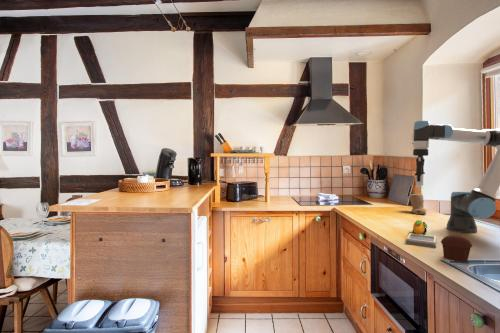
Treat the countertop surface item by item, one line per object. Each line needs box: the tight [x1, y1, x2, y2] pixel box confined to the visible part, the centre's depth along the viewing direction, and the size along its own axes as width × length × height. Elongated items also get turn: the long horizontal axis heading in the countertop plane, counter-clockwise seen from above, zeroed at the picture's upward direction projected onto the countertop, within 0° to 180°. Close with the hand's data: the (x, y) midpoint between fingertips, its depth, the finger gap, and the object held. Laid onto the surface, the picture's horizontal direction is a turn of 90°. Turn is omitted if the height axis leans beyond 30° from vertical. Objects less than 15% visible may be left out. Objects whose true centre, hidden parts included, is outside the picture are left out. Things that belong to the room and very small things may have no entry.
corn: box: [412, 219, 428, 235], centre depth 175 cm, size 7×8×20 cm
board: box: [405, 232, 437, 249], centre depth 161 cm, size 13×15×2 cm
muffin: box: [440, 234, 473, 263], centre depth 136 cm, size 12×11×10 cm
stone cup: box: [408, 193, 427, 215], centre depth 236 cm, size 15×12×15 cm
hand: (419, 186), depth 174 cm, fingers open, 13 cm apart
